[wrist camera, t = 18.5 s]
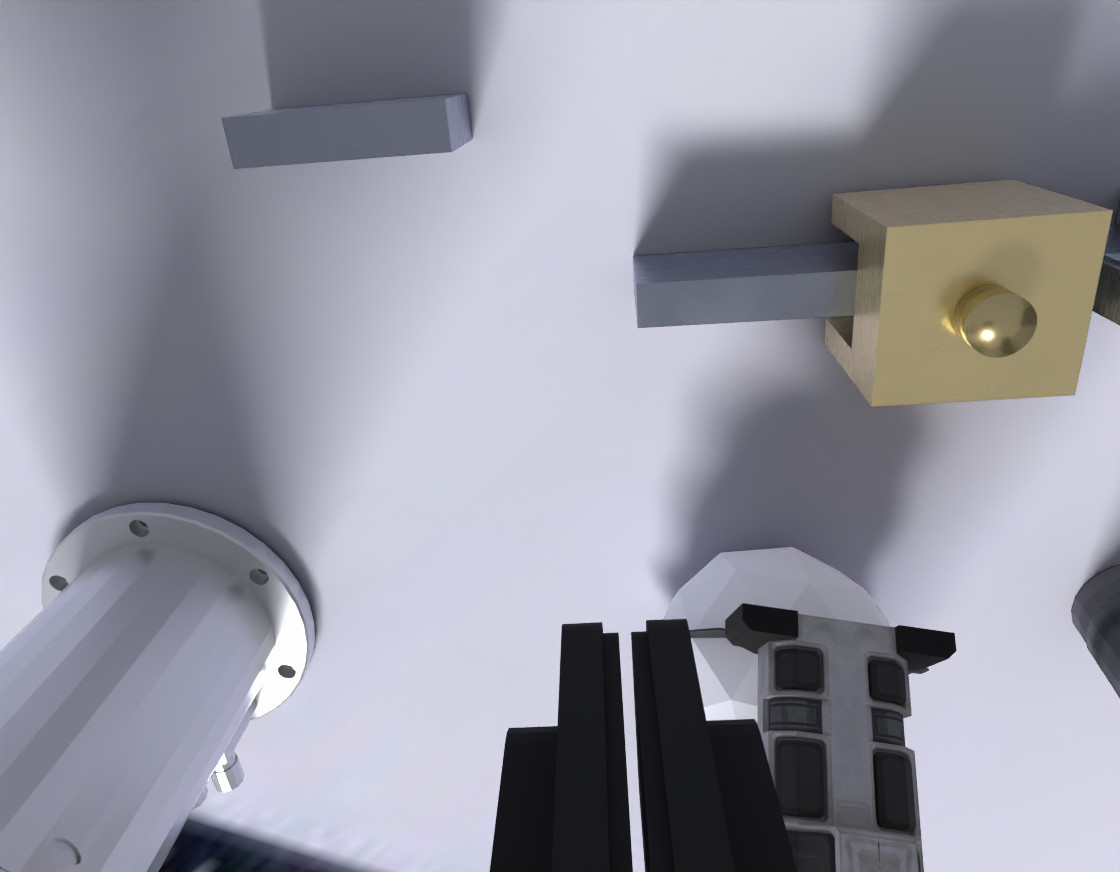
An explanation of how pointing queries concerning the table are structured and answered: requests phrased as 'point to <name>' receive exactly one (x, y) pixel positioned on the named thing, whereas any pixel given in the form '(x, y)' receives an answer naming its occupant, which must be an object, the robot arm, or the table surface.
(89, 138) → the table surface
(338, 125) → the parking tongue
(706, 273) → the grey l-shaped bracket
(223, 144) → the table surface
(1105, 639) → the beverage cup
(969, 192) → the tan box with knob
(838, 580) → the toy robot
